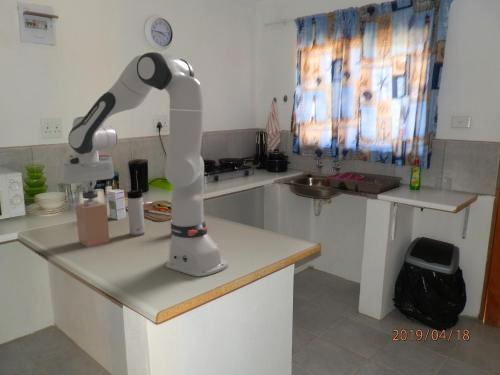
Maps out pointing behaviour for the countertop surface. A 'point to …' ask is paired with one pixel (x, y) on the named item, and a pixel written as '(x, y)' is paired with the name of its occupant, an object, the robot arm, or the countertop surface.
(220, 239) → the countertop surface
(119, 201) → the syrup box
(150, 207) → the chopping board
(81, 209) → the dispenser
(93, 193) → the pump head
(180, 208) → the robot arm
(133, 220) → the travel mug
